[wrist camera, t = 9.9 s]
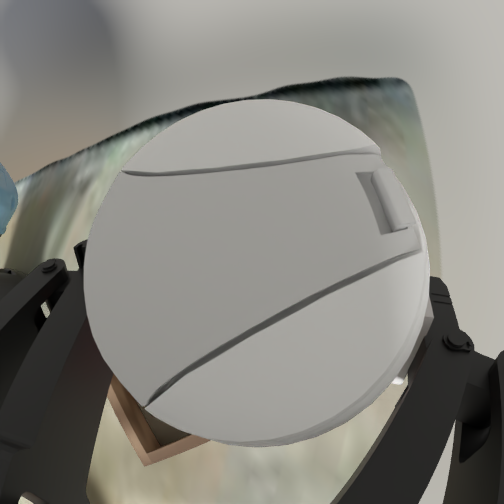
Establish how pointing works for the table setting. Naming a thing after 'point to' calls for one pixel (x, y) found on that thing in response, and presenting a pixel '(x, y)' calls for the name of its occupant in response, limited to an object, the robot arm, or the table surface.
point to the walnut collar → (144, 428)
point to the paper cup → (256, 274)
